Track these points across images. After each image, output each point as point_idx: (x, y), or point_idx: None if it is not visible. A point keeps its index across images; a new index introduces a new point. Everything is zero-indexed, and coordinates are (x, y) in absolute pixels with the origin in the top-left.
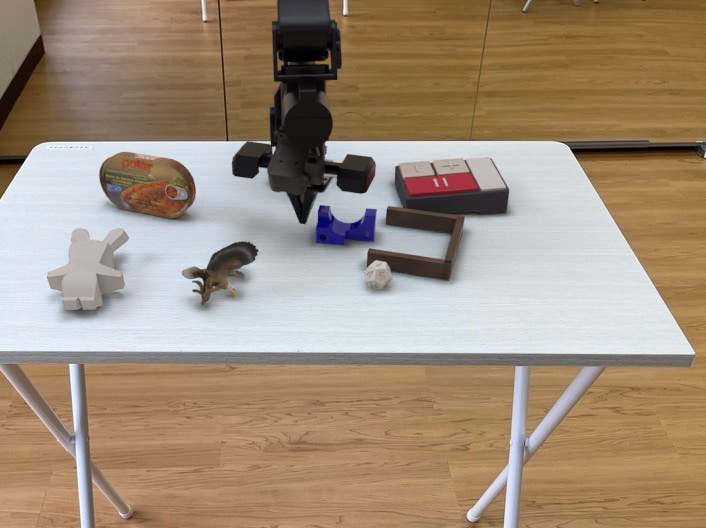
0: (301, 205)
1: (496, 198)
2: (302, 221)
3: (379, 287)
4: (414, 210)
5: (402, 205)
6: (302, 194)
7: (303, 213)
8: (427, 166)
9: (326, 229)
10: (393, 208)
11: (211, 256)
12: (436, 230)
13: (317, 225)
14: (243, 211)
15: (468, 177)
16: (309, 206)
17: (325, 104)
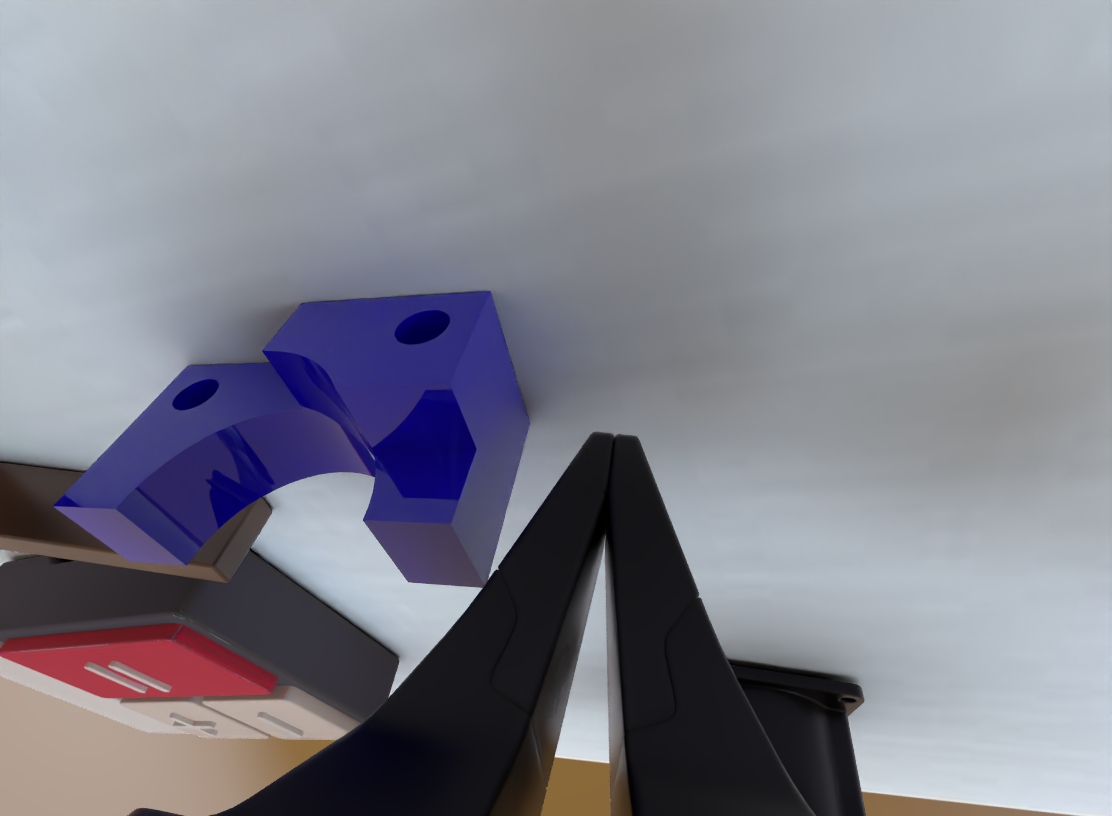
0: (610, 585)
1: None
2: (609, 449)
3: None
4: (101, 560)
5: (287, 583)
6: (611, 694)
7: (585, 509)
8: (258, 725)
9: (369, 374)
10: (187, 569)
11: None
12: (49, 472)
13: (451, 406)
14: (1078, 540)
15: (84, 688)
16: (504, 575)
17: None
